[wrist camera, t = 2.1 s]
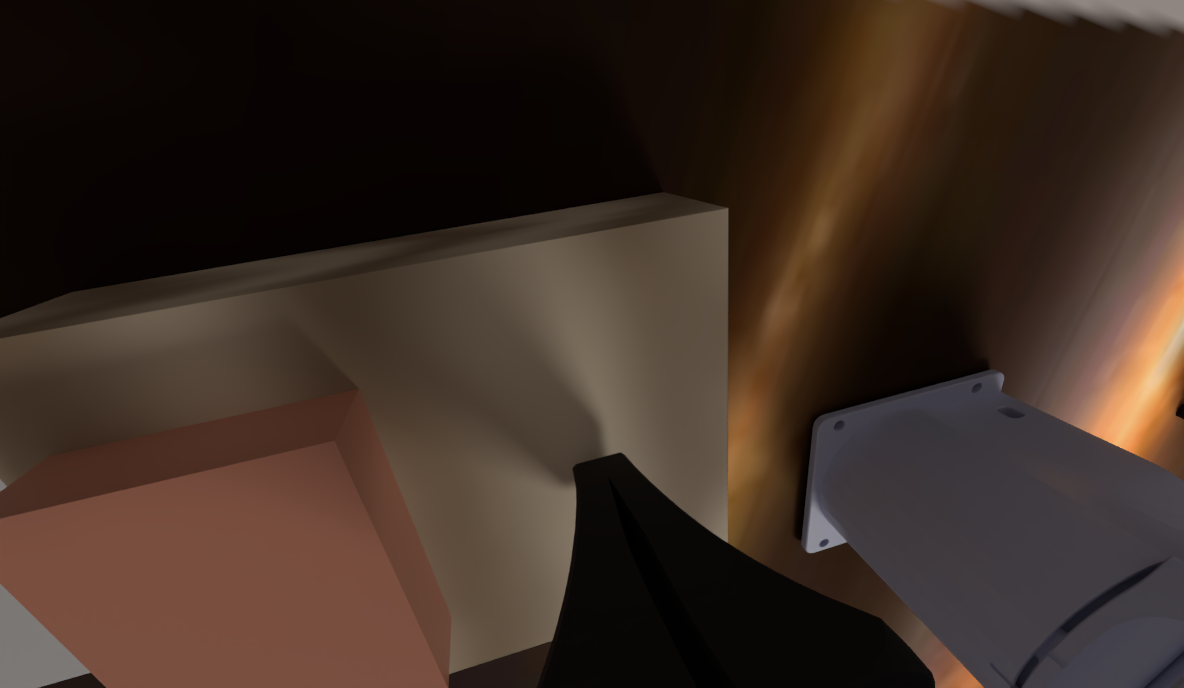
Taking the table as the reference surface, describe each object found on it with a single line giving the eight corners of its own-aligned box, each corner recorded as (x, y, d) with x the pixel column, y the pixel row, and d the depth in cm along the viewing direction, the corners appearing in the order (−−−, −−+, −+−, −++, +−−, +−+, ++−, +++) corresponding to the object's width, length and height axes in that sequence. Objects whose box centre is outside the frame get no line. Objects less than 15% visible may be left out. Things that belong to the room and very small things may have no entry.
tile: (358, 388, 10) (334, 440, 8) (451, 617, 14) (448, 688, 12) (49, 456, 9) (-54, 530, 7) (232, 683, 13) (193, 772, 11)
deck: (663, 192, 14) (728, 208, 10) (681, 504, 20) (727, 584, 16) (72, 291, 12) (-108, 357, 8) (285, 617, 17) (235, 743, 13)
